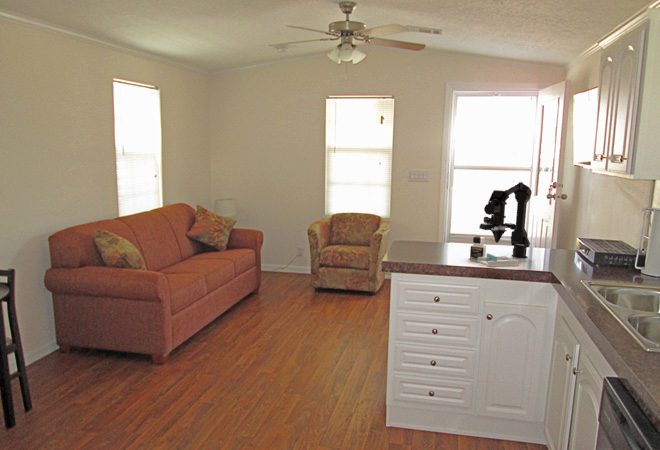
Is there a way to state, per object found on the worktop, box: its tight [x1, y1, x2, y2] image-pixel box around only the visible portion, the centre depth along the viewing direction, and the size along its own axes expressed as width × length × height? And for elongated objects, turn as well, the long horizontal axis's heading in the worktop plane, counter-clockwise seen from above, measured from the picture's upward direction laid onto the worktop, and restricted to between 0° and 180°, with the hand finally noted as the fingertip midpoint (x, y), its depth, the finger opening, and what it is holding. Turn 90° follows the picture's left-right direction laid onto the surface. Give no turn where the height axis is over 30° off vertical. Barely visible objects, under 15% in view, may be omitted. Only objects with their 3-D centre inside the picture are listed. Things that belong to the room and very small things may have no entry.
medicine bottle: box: [469, 235, 487, 260], centre depth 282 cm, size 7×7×12 cm
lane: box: [476, 255, 519, 267], centre depth 270 cm, size 17×12×2 cm
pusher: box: [477, 252, 498, 261], centre depth 268 cm, size 8×8×4 cm
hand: (496, 242), depth 268 cm, fingers closed
